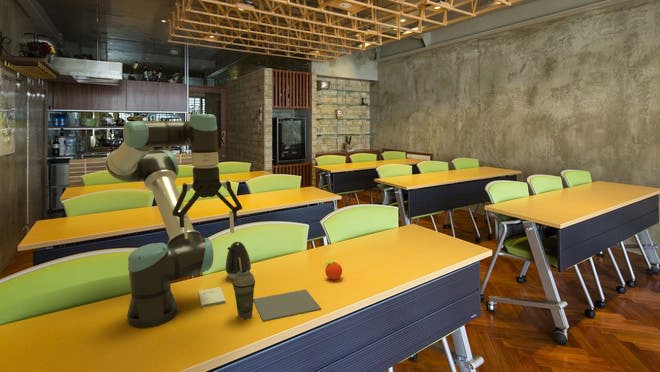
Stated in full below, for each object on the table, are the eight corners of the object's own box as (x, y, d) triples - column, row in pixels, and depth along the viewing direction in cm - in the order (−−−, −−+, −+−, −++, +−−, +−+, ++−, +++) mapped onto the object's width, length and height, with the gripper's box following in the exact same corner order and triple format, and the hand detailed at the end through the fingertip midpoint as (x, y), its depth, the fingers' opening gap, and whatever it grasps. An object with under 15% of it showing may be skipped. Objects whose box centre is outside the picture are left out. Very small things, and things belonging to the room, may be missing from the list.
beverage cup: (251, 322, 119) (248, 262, 115) (230, 320, 120) (226, 261, 117) (260, 311, 126) (257, 254, 122) (239, 309, 127) (237, 253, 124)
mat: (262, 321, 119) (262, 320, 119) (253, 300, 134) (253, 299, 133) (321, 309, 127) (321, 308, 126) (305, 290, 141) (305, 289, 141)
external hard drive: (201, 309, 129) (198, 294, 140) (225, 304, 132) (220, 290, 143) (201, 304, 128) (198, 290, 140) (225, 300, 132) (220, 286, 143)
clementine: (322, 282, 148) (322, 265, 147) (323, 275, 155) (322, 259, 154) (342, 282, 148) (342, 265, 147) (342, 275, 155) (342, 259, 154)
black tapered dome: (220, 279, 152) (218, 243, 149) (237, 270, 161) (236, 236, 158) (239, 284, 147) (237, 247, 145) (256, 275, 156) (254, 240, 154)
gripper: (160, 170, 103) (165, 243, 107) (250, 165, 113) (252, 233, 117) (160, 167, 110) (165, 236, 113) (245, 163, 120) (247, 227, 123)
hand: (209, 235), depth 115 cm, fingers open, 13 cm apart
